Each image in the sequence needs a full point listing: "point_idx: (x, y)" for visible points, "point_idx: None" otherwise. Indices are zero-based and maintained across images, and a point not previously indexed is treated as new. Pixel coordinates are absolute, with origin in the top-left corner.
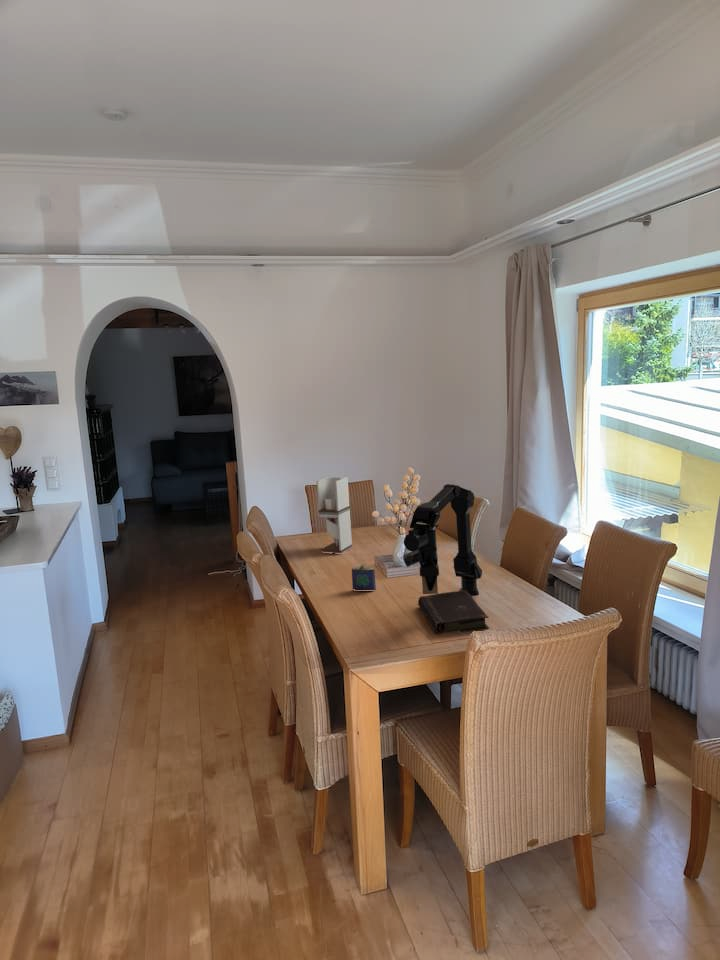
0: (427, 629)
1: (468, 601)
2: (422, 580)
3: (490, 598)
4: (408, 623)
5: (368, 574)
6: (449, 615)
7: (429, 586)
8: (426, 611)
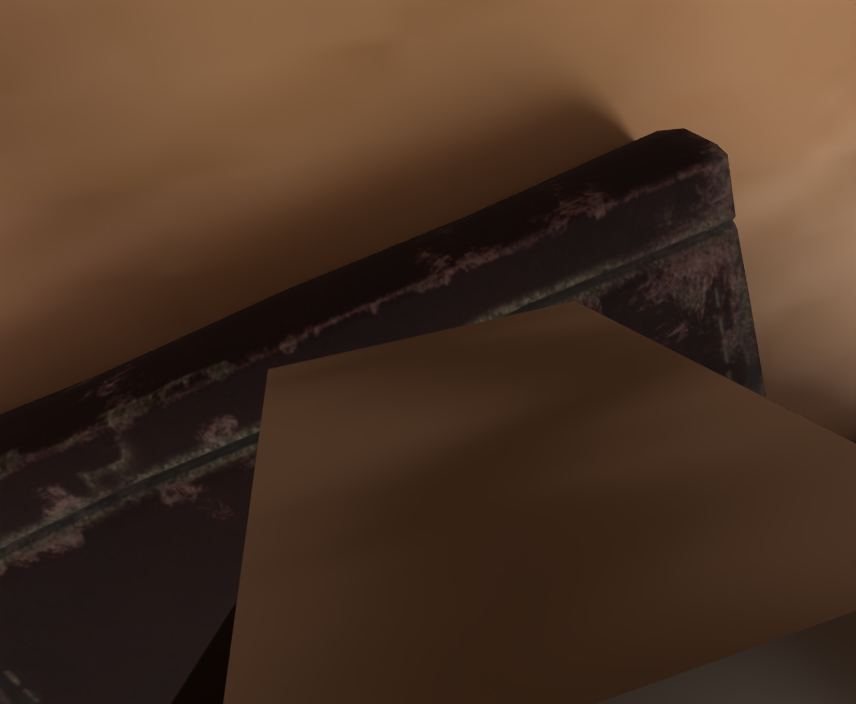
0: (33, 341)
1: None
2: (242, 642)
3: None
4: (152, 80)
5: None
6: (139, 614)
7: None
8: (304, 309)
